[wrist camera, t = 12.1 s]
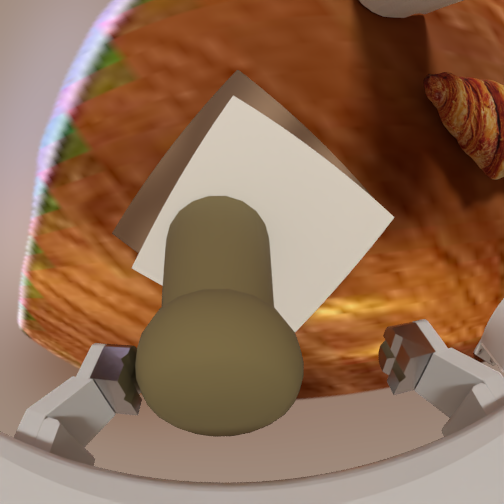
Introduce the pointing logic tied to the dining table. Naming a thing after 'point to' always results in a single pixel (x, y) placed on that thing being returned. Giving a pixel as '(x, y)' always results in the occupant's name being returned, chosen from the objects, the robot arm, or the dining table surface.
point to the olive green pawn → (218, 327)
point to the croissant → (472, 117)
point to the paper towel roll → (404, 6)
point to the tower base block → (180, 153)
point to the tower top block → (277, 207)
